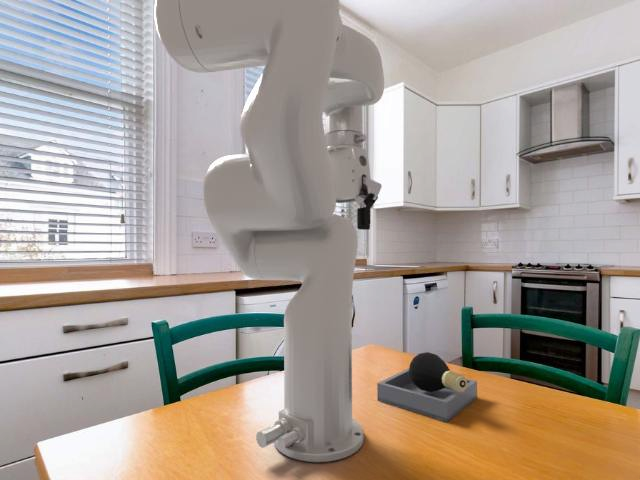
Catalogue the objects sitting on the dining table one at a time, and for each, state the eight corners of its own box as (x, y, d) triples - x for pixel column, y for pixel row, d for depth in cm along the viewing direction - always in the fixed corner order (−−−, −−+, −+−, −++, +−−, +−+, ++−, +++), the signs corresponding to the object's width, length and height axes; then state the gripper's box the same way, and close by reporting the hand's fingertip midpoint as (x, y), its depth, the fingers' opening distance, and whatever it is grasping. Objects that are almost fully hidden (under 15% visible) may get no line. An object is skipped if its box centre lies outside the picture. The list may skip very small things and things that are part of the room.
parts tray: (446, 422, 58) (446, 402, 58) (377, 400, 67) (377, 383, 67) (477, 397, 68) (477, 380, 68) (412, 381, 76) (412, 366, 76)
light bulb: (463, 353, 61) (419, 342, 72) (437, 384, 58) (395, 367, 70) (486, 384, 62) (439, 368, 73) (461, 415, 59) (416, 394, 71)
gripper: (390, 140, 74) (391, 229, 73) (325, 155, 86) (325, 231, 85) (367, 132, 68) (367, 228, 68) (300, 149, 80) (301, 231, 80)
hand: (344, 230), depth 77 cm, fingers open, 9 cm apart
